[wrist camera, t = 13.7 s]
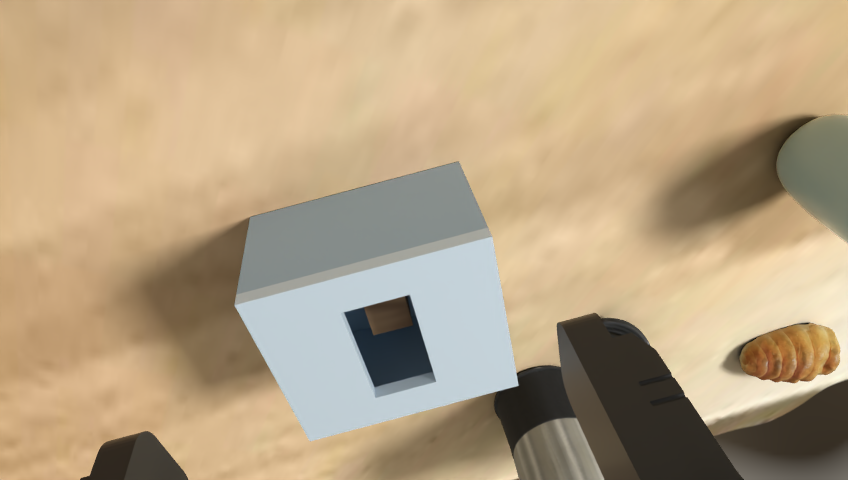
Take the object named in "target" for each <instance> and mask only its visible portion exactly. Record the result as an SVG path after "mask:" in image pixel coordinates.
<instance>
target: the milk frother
mask: <svg viewBox="0 0 848 480" xmlns="http://www.w3.org/2000/svg"><path fill="white" fill-rule="evenodd" d="M601 320H602V322H603V323H604V325H605V327H606V328H607V330H608V332H609V333H610V335H611V337H612V338H614V337H618V336H621V335H625V334H629V333H633V334H634V335H635V336H637V337H638V338H640V339H641V340H643V341H644V342H645V343H647V344H648V345H650V344H649V342H648V340H647V339H646V337H645V336H644V335H643V333H642V332H641V331H640V330H639V329H638V328H636V327H635V326H634V325H632V324H630V323H629V322H626V321H624V320H620V319H615V318H602V319H601ZM517 379H518V385H519V386H516V387H512V388H508V389H504V390H501V391H498V393H497V395H496V398H495V402H494V407H495V411H496V414H497V416H498V417H499V418H500V420H501V423H502V425H503V428H504V431H505V434H506V437H507V440H508V443H509V445H510V449H511V452H512V456H513V459H514V462H515V466H516V470H517V473H518V477H519V480H604V477H603V475H602V473H601V471H600V468H599V466H598V464H597V462H596V460H595V457H594V455H593V453H592V451H591V448H590V446H589V444H588V442H587V440H586V437H585V435H584V433H583V431H582V429H581V426H580V424H579V422H578V420H577V417H576V415H575V413H574V411H573V409H572V406H571V404H570V401H569V399H568V396H567V393H566V390H565V386H564V383H563V378H562V372H561V367H557V366H541V367H536V368H533V369H529V370H526V371H523V372H521V373H519V374H517Z"/></svg>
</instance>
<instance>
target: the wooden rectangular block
mask: <svg viewBox="0 0 848 480" xmlns="http://www.w3.org/2000/svg"><path fill="white" fill-rule="evenodd" d="M364 310H365V312H366V315H367V318H368V321H369V324H370V327H371V330H372V332H373V335H377V334H381V333H385V332H389V331H393V330H397V329H401V328H405V327H409V326H412V325H413V322H412V317H411V312H410V307H409V302H408V297H407V296H403V297H399V298H396V299H392V300H388V301H384V302H381V303H377V304H373V305H369V306H366V307H364Z"/></svg>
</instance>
